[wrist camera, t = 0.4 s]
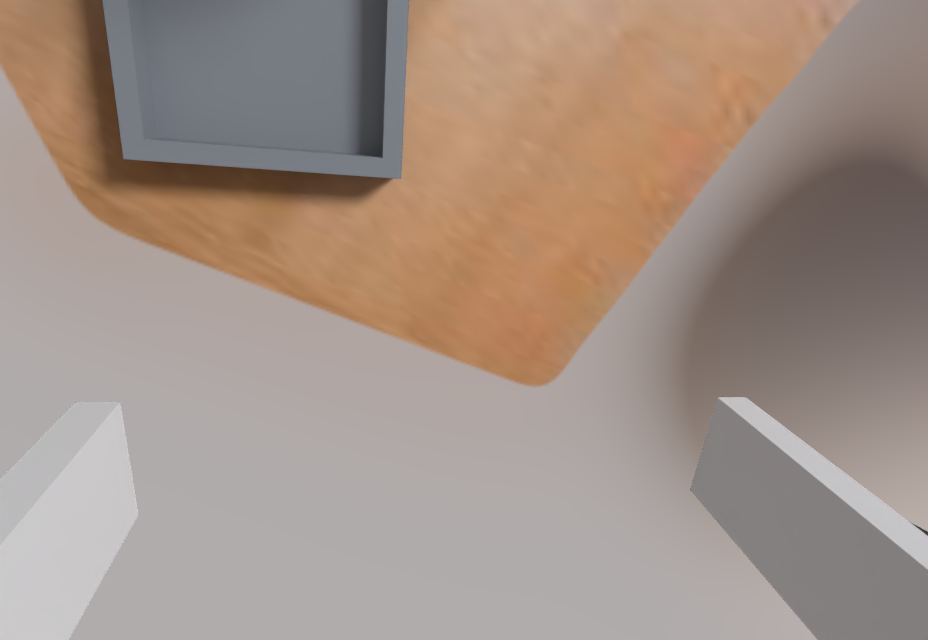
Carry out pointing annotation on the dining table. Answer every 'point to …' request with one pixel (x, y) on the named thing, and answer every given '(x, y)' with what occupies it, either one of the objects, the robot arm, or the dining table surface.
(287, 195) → the dining table surface
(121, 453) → the robot arm
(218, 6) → the tray
